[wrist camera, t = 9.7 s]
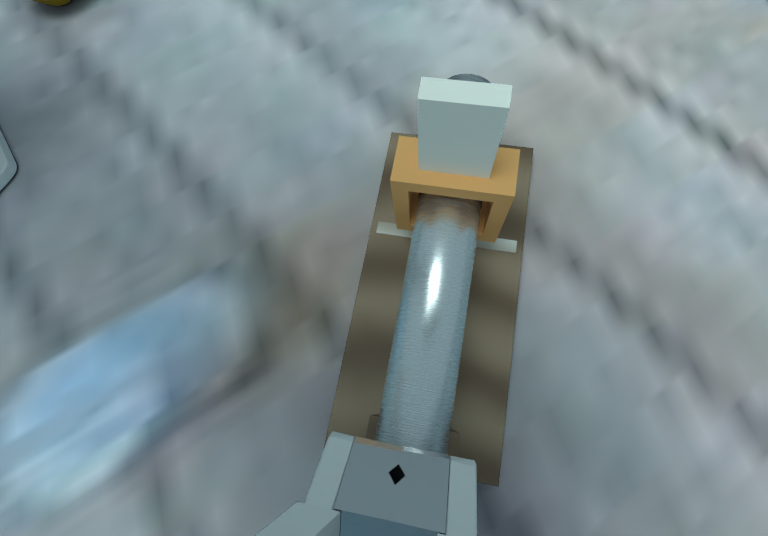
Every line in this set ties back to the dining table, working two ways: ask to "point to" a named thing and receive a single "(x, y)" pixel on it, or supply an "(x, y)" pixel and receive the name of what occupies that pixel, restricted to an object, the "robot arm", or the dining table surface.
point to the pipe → (430, 322)
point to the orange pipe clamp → (457, 152)
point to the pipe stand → (481, 334)
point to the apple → (54, 2)
